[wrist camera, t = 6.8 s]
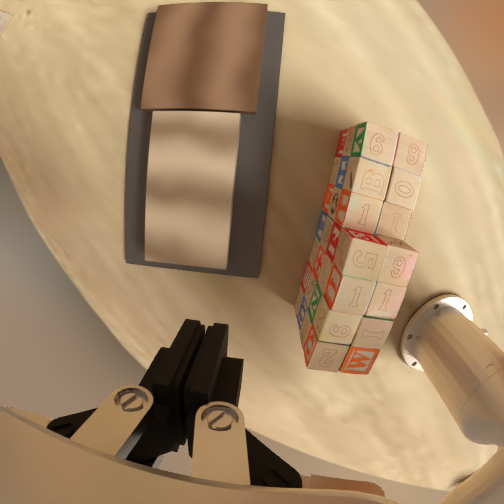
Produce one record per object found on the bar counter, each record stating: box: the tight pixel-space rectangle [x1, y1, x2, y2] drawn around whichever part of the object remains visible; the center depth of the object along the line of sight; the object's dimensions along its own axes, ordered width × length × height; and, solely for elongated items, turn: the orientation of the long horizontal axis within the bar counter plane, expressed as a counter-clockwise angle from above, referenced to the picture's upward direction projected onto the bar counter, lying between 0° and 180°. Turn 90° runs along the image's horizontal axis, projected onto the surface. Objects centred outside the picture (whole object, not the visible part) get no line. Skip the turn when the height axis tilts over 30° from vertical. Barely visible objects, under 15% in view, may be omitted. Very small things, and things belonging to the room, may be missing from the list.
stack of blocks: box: [294, 122, 428, 374], centre depth 27 cm, size 21×6×12 cm, turn 168°
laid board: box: [141, 2, 267, 115], centre depth 26 cm, size 12×13×2 cm
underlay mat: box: [125, 11, 285, 278], centre depth 30 cm, size 16×31×1 cm, turn 175°
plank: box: [145, 111, 241, 270], centre depth 31 cm, size 16×9×2 cm, turn 175°
